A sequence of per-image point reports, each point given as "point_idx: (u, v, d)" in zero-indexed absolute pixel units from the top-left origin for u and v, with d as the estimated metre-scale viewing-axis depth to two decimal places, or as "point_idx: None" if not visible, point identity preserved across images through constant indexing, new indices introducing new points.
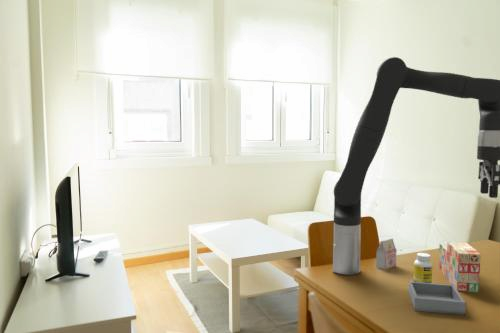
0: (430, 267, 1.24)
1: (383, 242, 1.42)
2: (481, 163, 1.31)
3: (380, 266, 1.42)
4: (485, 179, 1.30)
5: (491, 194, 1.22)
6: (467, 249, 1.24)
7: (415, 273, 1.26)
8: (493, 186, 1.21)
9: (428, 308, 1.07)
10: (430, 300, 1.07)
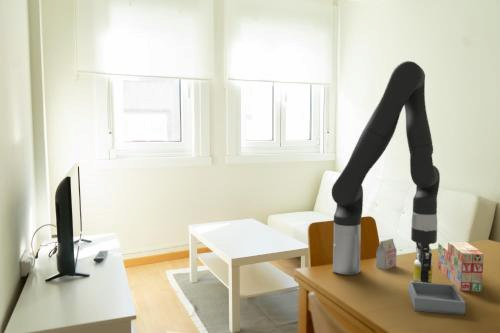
0: None
1: (383, 242, 1.42)
2: (417, 243, 1.32)
3: (380, 266, 1.42)
4: None
5: (422, 279, 1.24)
6: (469, 249, 1.24)
7: (415, 273, 1.26)
8: (423, 271, 1.23)
9: (428, 308, 1.07)
10: (430, 300, 1.07)
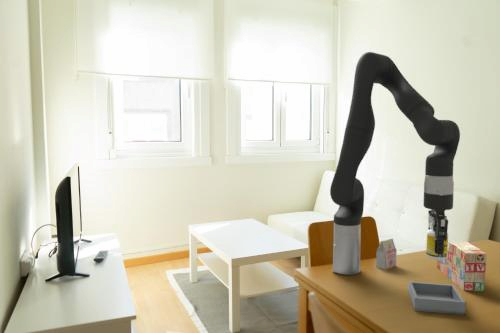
0: None
1: (383, 242, 1.42)
2: (430, 212, 1.17)
3: (380, 266, 1.42)
4: None
5: (436, 250, 1.08)
6: (471, 248, 1.24)
7: (428, 244, 1.11)
8: (438, 241, 1.08)
9: (428, 308, 1.07)
10: (430, 300, 1.07)
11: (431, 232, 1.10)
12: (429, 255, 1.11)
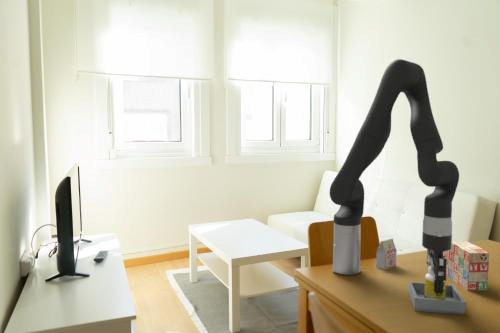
0: (444, 282, 1.10)
1: (383, 242, 1.42)
2: None
3: (380, 266, 1.42)
4: None
5: (436, 290, 1.08)
6: (473, 248, 1.25)
7: (426, 288, 1.12)
8: (438, 281, 1.07)
9: (428, 308, 1.07)
10: (430, 300, 1.07)
11: (429, 277, 1.11)
12: None
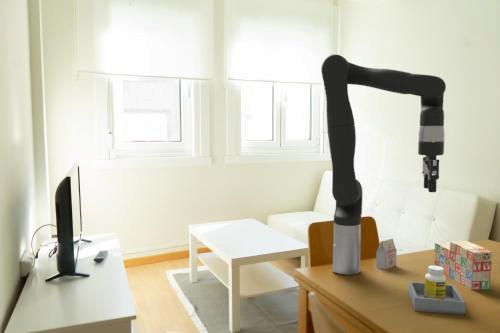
0: (443, 282, 1.10)
1: (383, 242, 1.42)
2: (424, 158, 1.33)
3: (380, 266, 1.42)
4: (428, 174, 1.32)
5: (430, 189, 1.23)
6: (475, 247, 1.25)
7: (426, 288, 1.12)
8: (431, 181, 1.23)
9: (428, 308, 1.07)
10: (430, 300, 1.07)
11: (429, 277, 1.11)
12: None
